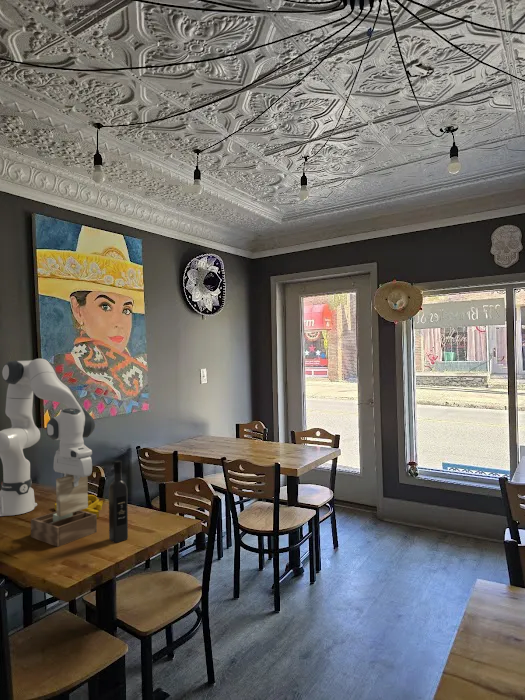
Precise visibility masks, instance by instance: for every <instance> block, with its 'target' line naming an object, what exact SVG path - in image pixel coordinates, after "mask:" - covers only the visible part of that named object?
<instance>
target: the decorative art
mask: <svg viewBox="0 0 525 700" xmlns="http://www.w3.org/2000/svg"><path fill="white" fill-rule="evenodd" d="M103 504H104V501H103V500H100V499H99V498H98V497H97V496H96V495H95V494H94V495H93V494H88V508H85V509H82V511H86V512H89V513H93V514H97V519H98V518H100V516H99V515H100V512H99V511H102V507H104V505H103ZM54 510H55V512H56V511H57V502H56V503H54Z"/></svg>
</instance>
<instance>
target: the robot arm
mask: <svg viewBox="0 0 525 700" xmlns="http://www.w3.org/2000/svg"><path fill="white" fill-rule="evenodd" d="M1 373H2V374H1V375H2V378H3V381H4V382H5V383H6V384H8V386H7V389H6V398H5V399H6V400H5V412H4V413H5V415H6V416H7V417H8V418H9V419H10V422H11V423H10V424H11V427H9V428H4V429H1V430H0V459H1V463H2V471H3V472H2V474H3V477H2V479H3V481H1V483H0V484H1V488H0V517H4V516H15V515H21V514H25V513H29V512H31V511H33V510H35V508H36V507H37V506H38V503H37V502H36V501H35V492H34V488H32V482H33V481H32V478H31V462H30V460H28V459H27V458H26V457H25V454H24V449H27V448H30V447H32V446H34V445H36V444H37V443H38V442H39V441H40V439H41V431H40V429H39V428H38V427H37V425H36V424H35V421H34V417H33V416H34V415H33V404H34V403H33V402H34V395H35V396H36V397H37V398H39V399H41V400H45V401H49V402H50V401H51V402H56V403H60V404H63V405H64V406H66V407H67V408H63V409H62V410H61V411H60V413H59V414H58V415H57V416H54V417H51V418H50V419H49V420H48V422H47V423H46V435H47V436H48V437H49V438H50V440H53V441H59V447H58V449H57V450H56V451H55V454H54V457H53V471H54V472H55V473H59V474H60V473H61V474H63V477H65V476H69V475H73V476H74V482H72V486H74V487H76V486H78V481H79V479H80V477H87V476H88V477H90V476H91V475H92V473H93V472H92V471H93V462H92V461H93V460H92V455H93V450H92V449H91V448H89V447H88V446H86V444H85V441H84V438H88V437H90V435H91V434H92V433H93V432H94V430H95V426H96V424H95V420H94V418H93V416H92V415H91V413H89V412H88V411H87V410H86V409H85V407H84V405H83V404H82V402H81V401H80V400H79V398H78V397H77V395H76V394H75V392H74V391H73V389H72V388H71V387H69V386H68V385H66V384H65V383H64V382H62V381H61V380H60V378H58V376H57V373H56V368H55V365H54V364H53V362H50V361H48V360H47V359H45V358H35V359H33V360H32V359H29V360H10V361H7V362H6V363H5V364H4V365H3V368H2V371H1Z"/></svg>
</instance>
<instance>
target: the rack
mask: <svg viewBox="0 0 525 700" xmlns="http://www.w3.org/2000/svg"><path fill="white" fill-rule="evenodd" d="M56 513H57V511H56V510H55V511H53V512H50V513H46V514H43V515H40V516H36V517H34V518H30V538H32V539H35V540H38V541H41V542H44V543H46V544H48V545H52V546H54V547H57V548H58V547H61V546H64V545H66V544H68V543H71V542H74V541H76V540H79V539H82V538H84V537H87V536H90V535H92V534H95V533H97V532H98V531H97V526H98V525H97V520H98V517H97V514H93V513H89V512H86V511H82V510H79V511H76V512H73V516H71V517H68V518H65V519H62V520H59V521H56V522H53V514H56ZM51 522H53V523H51ZM49 523H50V524H49Z"/></svg>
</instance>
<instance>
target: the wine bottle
mask: <svg viewBox="0 0 525 700" xmlns="http://www.w3.org/2000/svg"><path fill="white" fill-rule="evenodd" d="M122 464H123V461H122V460H114V461H113V469H114V471H113V472H114V473H113V474H114V475H113V476H114V477H113V478H114V479H113V481H111V483H110V484H109V487H108V523H109V524H108V526H109V527H108V530H109V531H108V533H109V534H108V535H109V541H112V543H116V544H117V543H120V542H124V541H126V540H128V538H129V526H128V525H129V524H128V523H129V521H128V520H129V519H128V518H129V517H128V516H129V515H128V513H129V512H128V511H129V509H128V486H127V484H126V482H125V481H124V480H123V477H122V475H123V474H122V472H123V471H122V470H123V469H122V467H123V465H122Z"/></svg>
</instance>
